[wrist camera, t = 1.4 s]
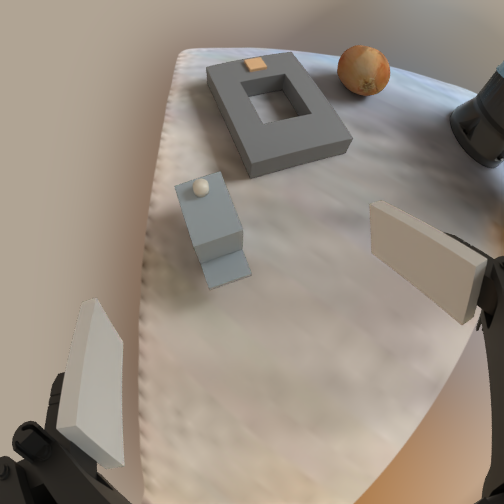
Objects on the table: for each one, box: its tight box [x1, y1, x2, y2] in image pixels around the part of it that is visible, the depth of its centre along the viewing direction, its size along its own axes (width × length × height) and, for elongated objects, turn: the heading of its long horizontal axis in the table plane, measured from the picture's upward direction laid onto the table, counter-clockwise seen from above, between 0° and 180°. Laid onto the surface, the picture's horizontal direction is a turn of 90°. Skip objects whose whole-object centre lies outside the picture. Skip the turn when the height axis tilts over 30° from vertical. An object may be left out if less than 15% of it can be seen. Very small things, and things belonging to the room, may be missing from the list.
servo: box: [175, 171, 252, 290], centre depth 36 cm, size 13×5×12 cm, turn 21°
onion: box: [337, 45, 390, 96], centre depth 47 cm, size 10×10×10 cm
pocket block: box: [206, 52, 353, 179], centre depth 46 cm, size 22×16×5 cm
